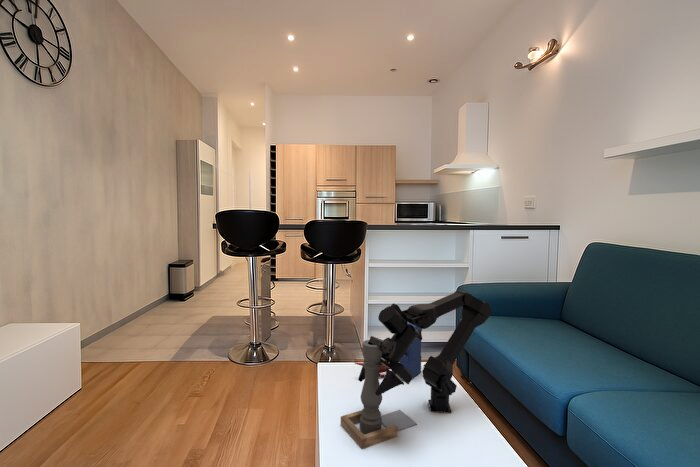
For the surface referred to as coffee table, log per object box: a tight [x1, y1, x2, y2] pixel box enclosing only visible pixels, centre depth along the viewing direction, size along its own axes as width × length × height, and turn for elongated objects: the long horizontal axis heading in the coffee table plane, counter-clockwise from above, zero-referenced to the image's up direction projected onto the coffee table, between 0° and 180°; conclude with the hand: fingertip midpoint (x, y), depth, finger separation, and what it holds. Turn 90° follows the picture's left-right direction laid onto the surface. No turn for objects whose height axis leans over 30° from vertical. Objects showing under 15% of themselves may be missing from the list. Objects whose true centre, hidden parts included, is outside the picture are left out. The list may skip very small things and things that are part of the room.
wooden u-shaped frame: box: [340, 409, 399, 449], centre depth 101 cm, size 12×12×2 cm
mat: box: [381, 409, 418, 432], centre depth 106 cm, size 9×8×1 cm
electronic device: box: [399, 322, 423, 379], centre depth 136 cm, size 10×5×20 cm, turn 141°
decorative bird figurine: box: [354, 362, 391, 378], centre depth 134 cm, size 3×18×10 cm, turn 103°
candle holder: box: [359, 339, 383, 435], centre depth 101 cm, size 6×6×25 cm
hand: (367, 387), depth 100 cm, fingers open, 9 cm apart
